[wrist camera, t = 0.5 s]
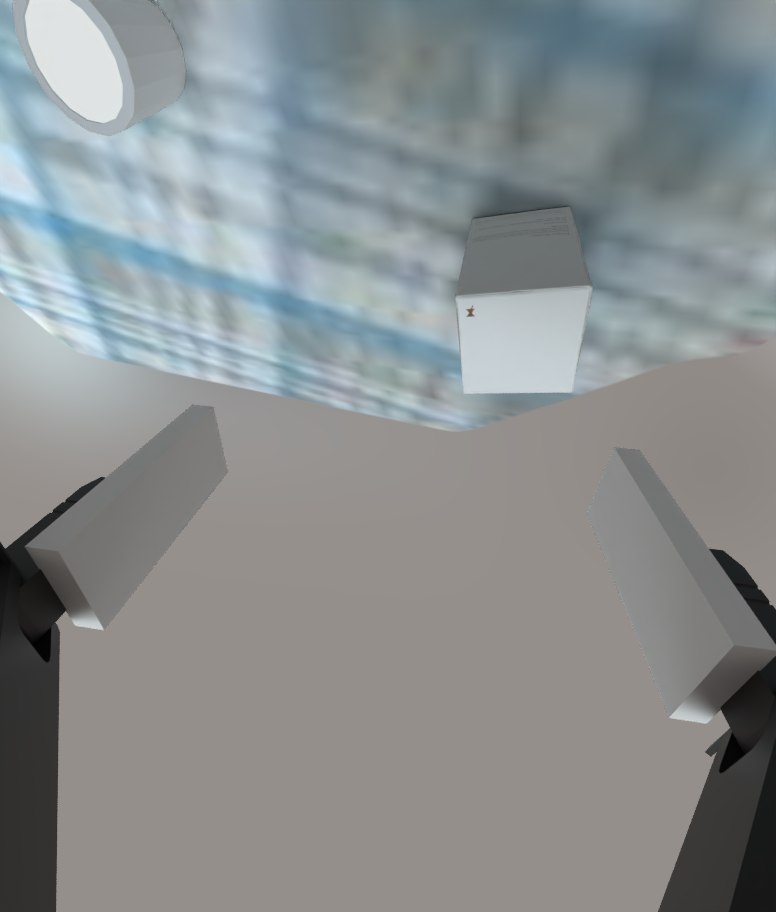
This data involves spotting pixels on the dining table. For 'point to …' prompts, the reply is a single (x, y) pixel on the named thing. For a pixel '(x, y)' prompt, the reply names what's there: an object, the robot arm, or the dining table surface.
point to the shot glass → (102, 58)
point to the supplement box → (522, 303)
